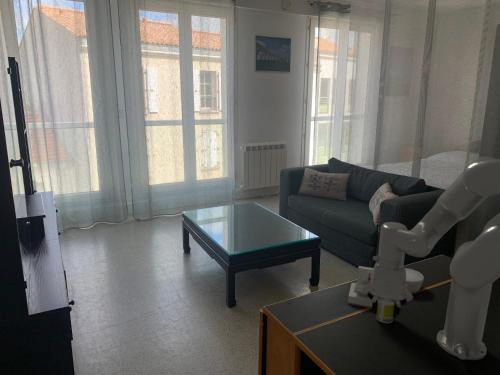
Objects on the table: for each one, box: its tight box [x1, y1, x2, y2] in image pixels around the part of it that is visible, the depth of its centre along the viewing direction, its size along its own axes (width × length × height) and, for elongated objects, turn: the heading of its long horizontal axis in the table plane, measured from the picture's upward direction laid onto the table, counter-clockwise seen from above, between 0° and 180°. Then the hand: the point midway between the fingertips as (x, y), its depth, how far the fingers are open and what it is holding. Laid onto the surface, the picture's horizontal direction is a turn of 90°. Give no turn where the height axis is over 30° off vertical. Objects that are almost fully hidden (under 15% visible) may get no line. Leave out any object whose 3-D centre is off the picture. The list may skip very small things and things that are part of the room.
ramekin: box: [405, 267, 425, 294], centre depth 141 cm, size 11×11×5 cm
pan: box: [354, 281, 370, 295], centre depth 131 cm, size 7×9×2 cm
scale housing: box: [347, 265, 378, 309], centre depth 131 cm, size 10×12×10 cm
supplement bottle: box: [375, 297, 396, 324], centre depth 120 cm, size 5×5×10 cm
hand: (384, 313), depth 121 cm, fingers closed on supplement bottle, 5 cm apart
